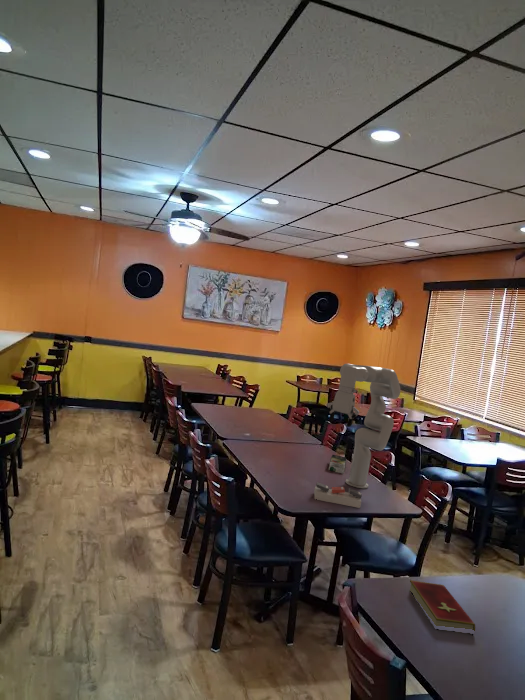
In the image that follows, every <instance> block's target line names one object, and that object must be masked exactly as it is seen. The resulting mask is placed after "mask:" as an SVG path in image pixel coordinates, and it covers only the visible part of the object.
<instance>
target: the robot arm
mask: <svg viewBox="0 0 525 700" xmlns="http://www.w3.org/2000/svg"><path fill="white" fill-rule="evenodd" d="M339 374H340V381H339V386H338V390H337V391H336V393H335V396H334V399H333V401H332V402H328V403H327V404H326V406H327V410H328V412H329V418H328V419H329V422H330V423H331V422H334V420H335V415H336V414H335V413H336V412H337V413H342V414H345V415H347V416H348V419H347V423H346V427H351V426H352V425H353V420H354V418H356V417H358V415H359V414H360V411H359V409H357V408H356V407H355V406H356V405H355V404H356V394H355V393H357V389H356V388H355V387H356V382H360V383H361V382H365V383H370V385H369V391H370V397H371V402H370V405H369V408H368V410H367V412H366V415H365V418H364V422H363V424H364V426H365V427H367V428H365V427H361V428H360V427H359V428H358V429H357V430H356V431H355V434H354V447H353V448H354V449H353V455H352V460H351V466H350V470H349V471H350V472H349V478H346V479H345V483H346V484H347V485H348V486H351V487H352V488H357V489H368V488H369V483H367V480H368V474H369V470H370V463H371V459H372V453H371V450H370V449H372V450H376V451H380V452H381V451H383V450H385V448H386V447H387V445H388V441H389V439H390V437H391V433H392V431H393V429H394V424H395V423H394V422H395V421H394V418H393V417H392V416H390V415H388V414H385V412H386V409H387V405H386V402H385V400H384V398H387V399H391V400H395V399H396V400H397V399H398V398H399V397H400V396H401V385H400V380H399V377H398V375H397V373H396V371H395V370H393V369H392V368H391V369H390V368H385V367H380V366H374V365H373V366H372V365H363V364H362V365H361V364H354V363H353V364H351V363H344V364H343V365H341V367H340V368H339ZM369 428H370V429H369Z"/></svg>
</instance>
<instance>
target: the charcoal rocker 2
mask: <svg viewBox="0 0 525 700" xmlns="http://www.w3.org/2000/svg"><path fill="white" fill-rule="evenodd" d="M347 492H348V493H349V494H352V495H354V496H357V497H359V498H361V499H362V497H363V496H362V492H360V491H358V490H355V489H353V488H351V487H348V491H347Z"/></svg>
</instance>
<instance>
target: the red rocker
mask: <svg viewBox="0 0 525 700" xmlns="http://www.w3.org/2000/svg"><path fill="white" fill-rule="evenodd" d="M331 489H332V493H345V492H346V490H345V486H332V487H331Z"/></svg>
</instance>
